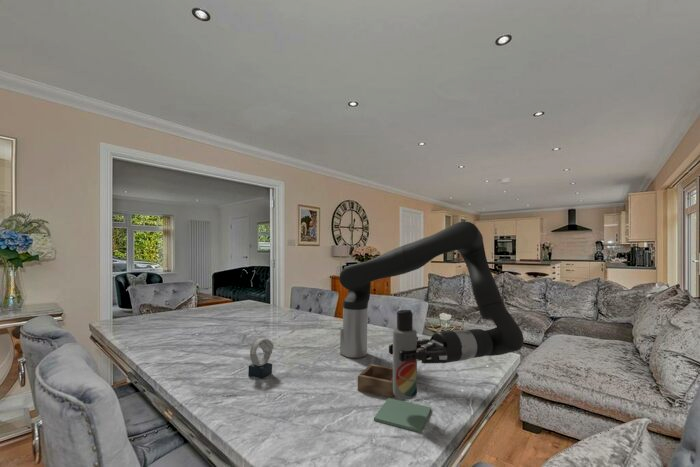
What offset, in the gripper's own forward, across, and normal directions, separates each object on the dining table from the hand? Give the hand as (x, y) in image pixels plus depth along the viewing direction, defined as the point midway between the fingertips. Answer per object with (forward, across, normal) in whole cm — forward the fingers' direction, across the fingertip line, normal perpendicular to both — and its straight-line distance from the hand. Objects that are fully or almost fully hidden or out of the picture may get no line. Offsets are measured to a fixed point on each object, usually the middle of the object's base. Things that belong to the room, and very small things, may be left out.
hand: (394, 352), depth 76 cm
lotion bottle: (-3, 0, +10) cm, 11 cm away
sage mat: (-2, 0, +15) cm, 15 cm away
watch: (+28, -35, +15) cm, 47 cm away
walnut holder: (-4, -16, +15) cm, 22 cm away
